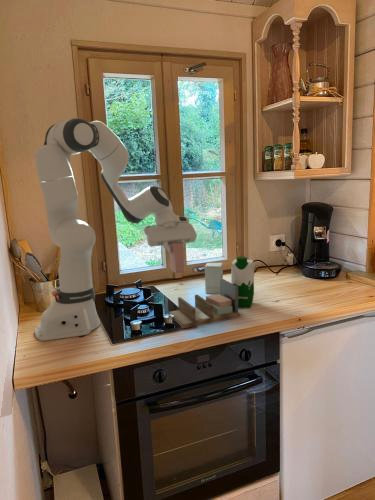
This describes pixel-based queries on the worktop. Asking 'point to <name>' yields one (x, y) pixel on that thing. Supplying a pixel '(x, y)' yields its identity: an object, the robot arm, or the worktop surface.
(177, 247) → the rose book
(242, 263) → the milk carton
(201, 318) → the walnut book rack
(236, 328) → the worktop surface
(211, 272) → the supplement box
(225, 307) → the toppled books
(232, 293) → the dark metal bookend
